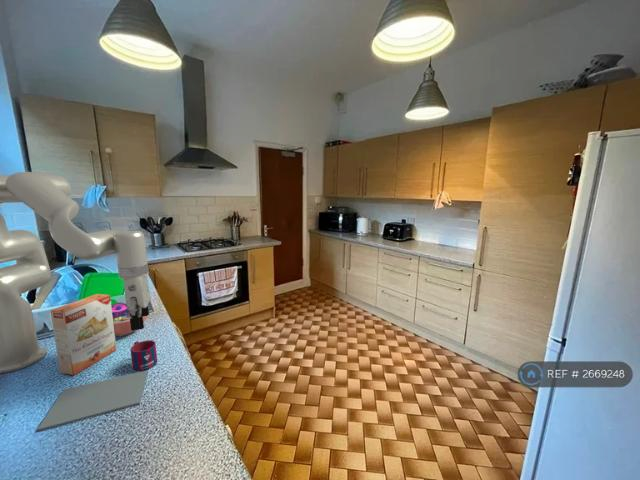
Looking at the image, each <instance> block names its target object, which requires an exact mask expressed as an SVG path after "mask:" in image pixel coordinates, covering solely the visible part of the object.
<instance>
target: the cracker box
mask: <svg viewBox="0 0 640 480" xmlns="http://www.w3.org/2000/svg"><path fill="white" fill-rule="evenodd" d="M111 306H112V299H111V295H110V294H102V293H101V294H100V293H95V294H93V295H90V296H87V297H85V298H82V299H79V300H76V301H73V302H71V303H67V304H65V305H62V306H61V305H60V306H58V307H56V308H52V309H51V310H50V317H51V322H52V331H53V335H54V336H53V337H54V342H55V349H56V354H57V362H58V367H59V369H58V370H59V373H60V374H66V375H71V376H75V375H77V374H79V373H80V372H82V371H84V370H86V369H87V368H89V367H90V366H92V365H93V364H96V363H97V362H98V361H101V360H102V359H104V358H106V357H107V356H109V355H110V354H112V353H114V352H116V351H117V346H116V345H117V344H116V335H115V334H114V325H113V316H112V307H111Z"/></svg>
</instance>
